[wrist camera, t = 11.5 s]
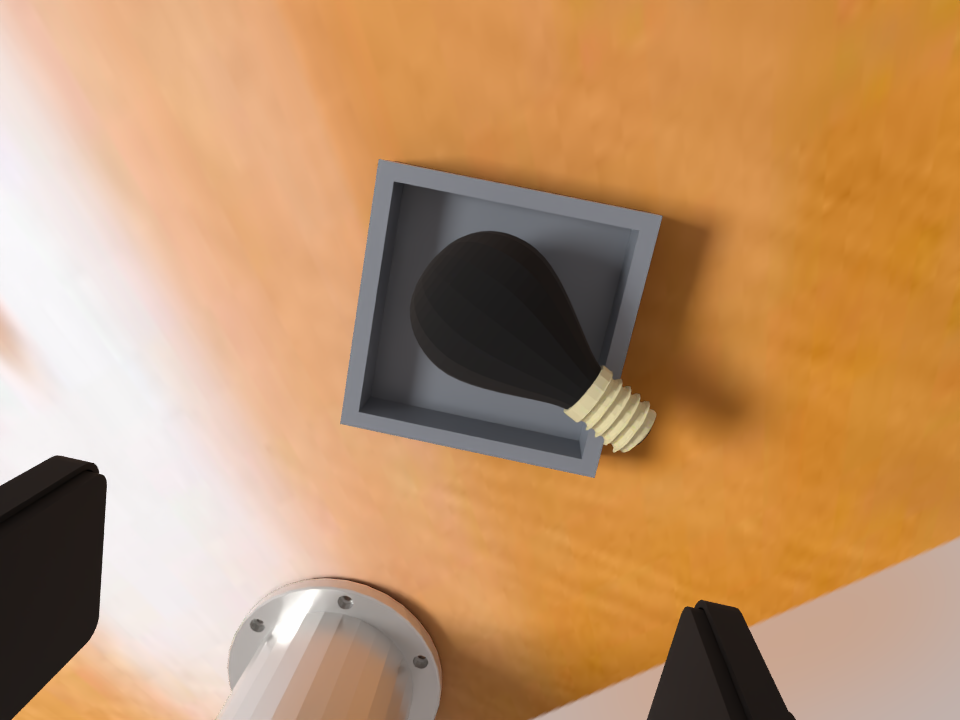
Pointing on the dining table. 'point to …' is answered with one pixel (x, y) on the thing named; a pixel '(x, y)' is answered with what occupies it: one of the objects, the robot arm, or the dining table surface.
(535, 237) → the parts tray
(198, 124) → the dining table surface
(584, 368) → the light bulb
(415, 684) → the robot arm
